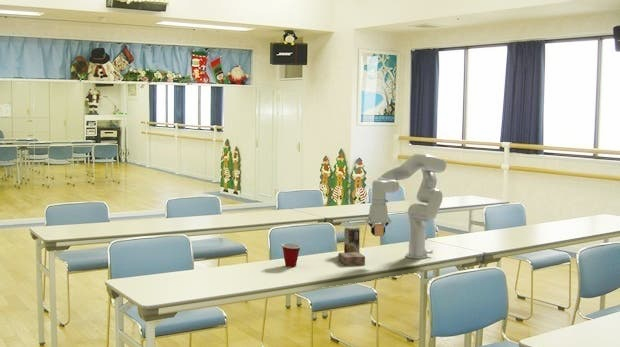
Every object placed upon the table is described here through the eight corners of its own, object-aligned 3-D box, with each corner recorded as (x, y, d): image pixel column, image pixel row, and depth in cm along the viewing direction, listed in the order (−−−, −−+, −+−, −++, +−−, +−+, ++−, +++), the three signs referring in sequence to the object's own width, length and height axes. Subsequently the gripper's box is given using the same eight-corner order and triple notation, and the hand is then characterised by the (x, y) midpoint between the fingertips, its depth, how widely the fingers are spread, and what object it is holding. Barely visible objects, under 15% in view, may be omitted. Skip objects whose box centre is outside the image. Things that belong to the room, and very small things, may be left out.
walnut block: (358, 260, 391) (358, 252, 390) (364, 265, 379) (364, 256, 379) (338, 261, 388) (338, 252, 387) (344, 266, 376) (344, 257, 376)
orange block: (381, 234, 383) (381, 223, 382) (383, 236, 378) (383, 225, 377) (372, 234, 382) (372, 223, 382) (374, 236, 377) (375, 225, 377)
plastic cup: (298, 269, 367) (298, 247, 366) (279, 267, 369) (279, 246, 368) (302, 264, 378) (303, 243, 376) (284, 263, 380) (284, 242, 379)
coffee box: (359, 254, 405) (360, 228, 403) (359, 257, 398) (359, 230, 397) (344, 254, 405) (344, 227, 404) (343, 256, 399) (344, 229, 397)
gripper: (391, 201, 383) (391, 232, 385) (362, 201, 381) (361, 233, 382) (395, 203, 376) (394, 235, 378) (365, 203, 373) (364, 235, 375)
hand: (378, 233), depth 380 cm, fingers closed on orange block, 4 cm apart
